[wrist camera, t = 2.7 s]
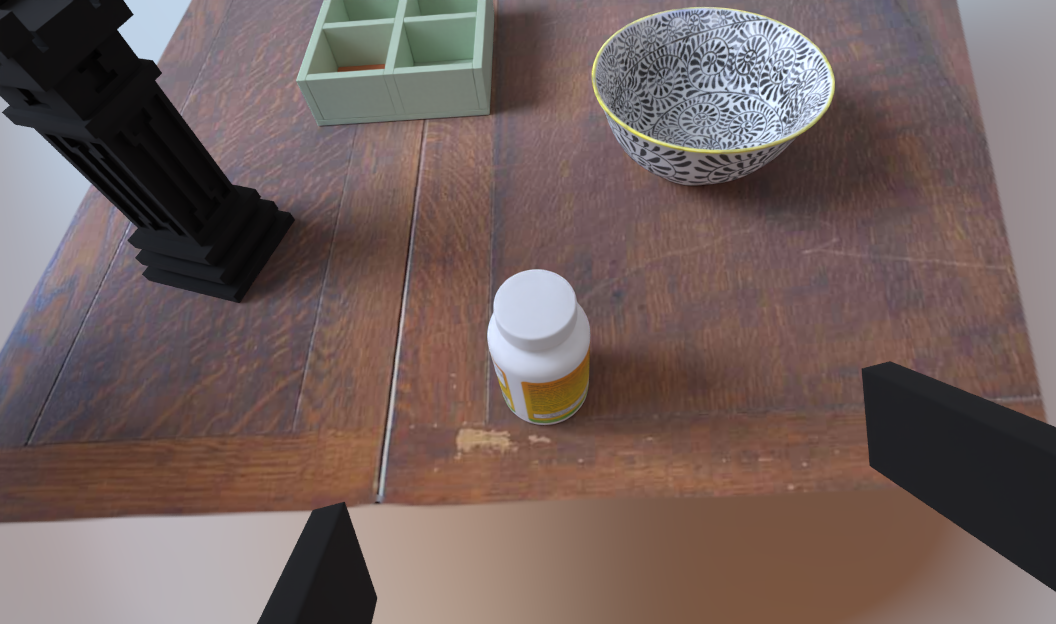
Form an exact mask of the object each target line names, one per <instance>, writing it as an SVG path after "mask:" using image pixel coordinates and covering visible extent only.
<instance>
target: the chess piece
mask: <svg viewBox="0 0 1056 624" xmlns="http://www.w3.org/2000/svg"><path fill="white" fill-rule="evenodd" d="M131 16H133V13H132V12H131V10H130V9H129V7H128V6H127V5H126V3H125V2H124V0H0V96H1V97H2V98H3V99H4V100H5V101H6V102H7V103H8V104H9V105H10V106H9V107H7V108H6V109H5V110H4V111H3V112H2V113H3V114H4V115H6V116H7V117H8V118H9V119H10V120H11V121H12V122H13V123H14V124H16V125H21V126H26V127H31V128H34V129H35V130H36V131H37V132H38V133H39V134H41V135H42V136H43V137H44V138H45V139H46V140H47V141H48V142H49V143H50V144H51V145H52V146H53V147H54V148H55V149H56V150H57V151H58V152H59V153H60V154H62V156H64V157H65V158H66V159H67V160H68V161H69V162H70V163H71V164H72V165H73V166H74V167H75V168H76V169H77V170H78V171H79V172H80V173H81V174H82V175H83V176H85V178H86V179H87V180H89V181H90V182H91V183H92V184H93V185H94V186H95V187H96V188H97V189H98V190H99V191H100V192H101V193H102V194H103V195H104V196H105V197H106V198H107V199H108V200H109V201H110V202H111V203H112V204H114V205H115V206H116V207H117V208H118V209H119V210H120V211H121V212H122V213H123V214H124V215H125V216H126V217H127V218H128V219H129V220H130V221H131V222H132V223H133V224H134V225H135V226H136V227H138V229H137V230H136V231H135V232H134V233H133V235H132V236H131V237H130V238H129V239H128V241H129V242H130V243H131V244H132V245H133V246H134V247H135V248H139V249H142V250H141V251H140V253H139V254H138V255H137V256H136V257H135V258H136V259H137V260H138V261H139V262H140V263H141V264H142V265H146V266H148V268H147V269H146V270H145V271H144V273H143V274H142V275H143V276H145V277H146V278H147V279H148V280H149V281H153V282H157V283H161V284H165V285H169V286H173V287H177V288H181V289H185V290H189V291H193V292H197V293H201V294H205V295H210V296H214V297H218V298H222V299H226V300H230V301H234V302H238V303H240V301H241V300H242V298H243V297H244V295H245V294H246V292H247V291H248V289H249V288H250V286H251V285H252V283H253V282H254V280H255V279H256V277H257V276H258V274H259V273H260V271H261V270H262V268H263V267H264V265H265V264H266V262H267V261H268V259H269V258H270V256H271V255H272V253H273V252H274V250H275V249H276V247H277V246H278V244H279V243H280V241H281V240H282V238H283V237H284V235H285V234H286V232H287V231H288V229H289V228H290V226H291V225H292V223H293V222H294V220H295V219H294V218H293V216H292V215H291V213H289V212H284V211H279V210H278V207H277V206H276V204H275V203H274V201H269V200H264V199H260V197H261V196H260V195H259V193H258V192H257V191H256V189H252V188H247V187H242V186H237V185H232V184H231V182H230V181H229V180H228V178H227V177H226V176H225V174H224V173H223V172H222V170H221V169H220V168H219V166H218V165H217V164H216V162H215V161H214V159H213V158H212V157H211V155H210V154H209V153H208V151H207V150H206V149H205V147H204V146H203V145H202V143H201V142H200V141H199V139H198V138H197V137H196V135H195V134H194V133H193V131H192V130H191V129H190V127H189V126H188V124H187V123H186V122H185V120H184V119H183V118H182V116H181V115H180V114H179V112H178V111H177V110H176V108H175V107H174V106H173V104H172V103H171V102H170V100H169V99H168V98H167V96H166V95H165V93H164V92H163V91H162V89H161V88H160V87H159V85H158V84H157V83H156V81H155V80H156V79H157V78H158V77H159V76H160V75H161V74H162V72H161V71H160V70H159V68H158V67H157V65H156V64H155V63H154V61H153V60H146V59H139V58H138V57H137V56H136V54H135V53H134V52H133V50H132V49H131V48H130V46H129V45H128V44H127V42H126V41H125V40H124V38H123V37H122V36H121V34H120V33H119V32H118V30H117V29H118V28H119V27H120V26H121V25H123V24H124V23H125V22H126V21H127V20H128V19H129V18H130V17H131Z"/></svg>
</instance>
